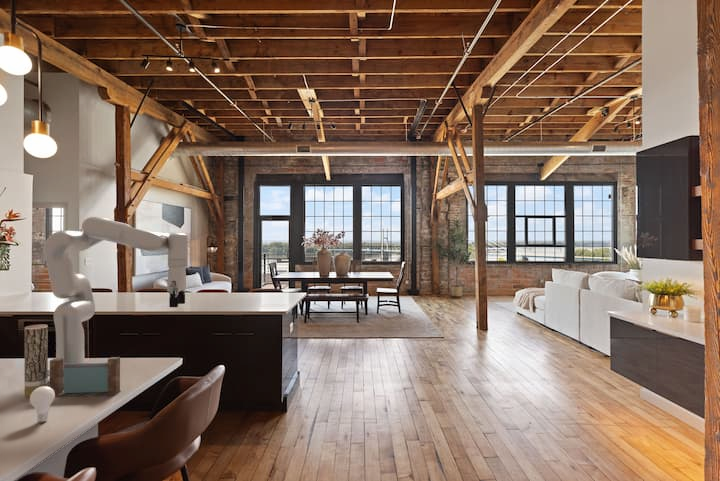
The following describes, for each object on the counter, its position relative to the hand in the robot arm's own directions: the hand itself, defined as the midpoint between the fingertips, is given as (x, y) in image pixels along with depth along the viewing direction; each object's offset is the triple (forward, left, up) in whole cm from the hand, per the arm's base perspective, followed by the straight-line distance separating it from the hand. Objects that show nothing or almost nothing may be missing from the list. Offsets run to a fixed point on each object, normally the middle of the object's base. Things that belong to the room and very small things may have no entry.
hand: (177, 305), depth 182 cm
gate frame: (-27, -17, -30) cm, 44 cm away
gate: (-27, -17, -29) cm, 43 cm away
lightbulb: (-28, -42, -30) cm, 58 cm away
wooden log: (-45, -16, -30) cm, 56 cm away
